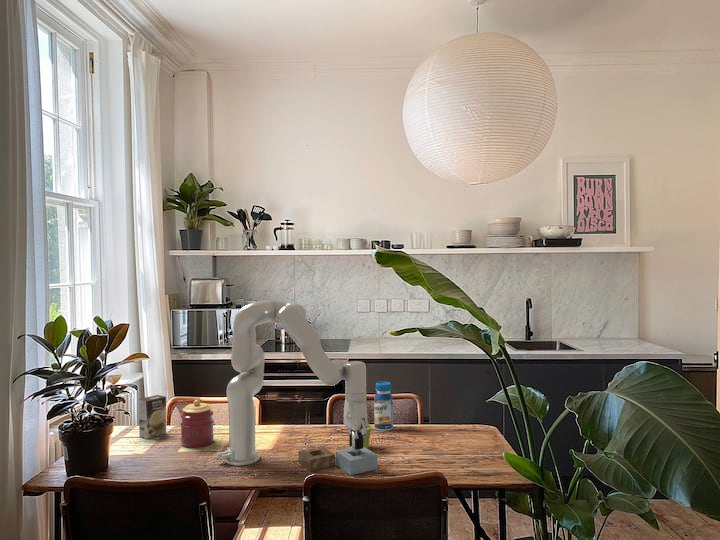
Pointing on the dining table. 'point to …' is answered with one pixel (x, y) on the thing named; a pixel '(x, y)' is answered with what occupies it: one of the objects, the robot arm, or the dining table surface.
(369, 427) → the plant pot
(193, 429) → the canister
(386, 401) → the beverage bottle
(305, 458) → the mount block
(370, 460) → the dock block
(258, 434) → the dining table surface
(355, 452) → the pin
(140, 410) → the coffee box
